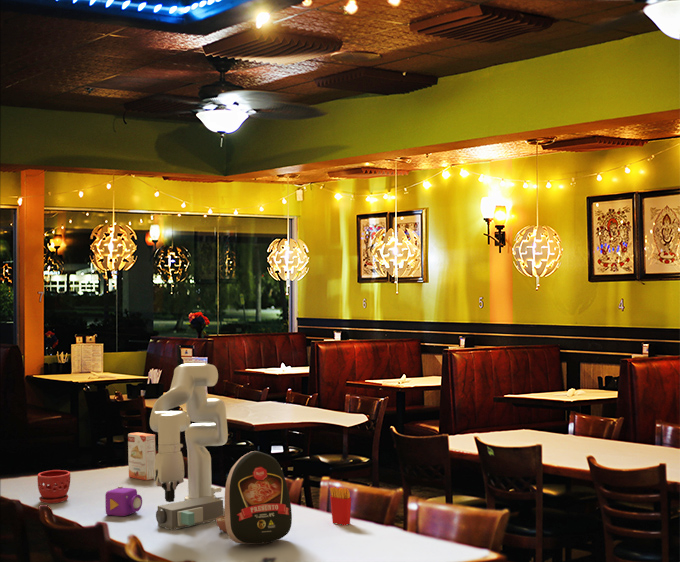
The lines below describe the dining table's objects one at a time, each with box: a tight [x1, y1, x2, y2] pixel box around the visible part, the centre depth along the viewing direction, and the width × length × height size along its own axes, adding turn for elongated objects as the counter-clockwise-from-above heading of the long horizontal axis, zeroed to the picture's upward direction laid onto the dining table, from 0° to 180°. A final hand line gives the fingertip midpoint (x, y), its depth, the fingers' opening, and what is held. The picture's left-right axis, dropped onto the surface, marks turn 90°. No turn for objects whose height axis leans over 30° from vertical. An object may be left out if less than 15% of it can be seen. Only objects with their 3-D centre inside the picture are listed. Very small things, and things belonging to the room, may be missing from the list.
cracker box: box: [127, 431, 156, 481], centre depth 405 cm, size 14×6×21 cm, turn 49°
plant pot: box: [37, 469, 71, 504], centre depth 358 cm, size 13×13×12 cm
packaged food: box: [224, 450, 293, 545], centre depth 288 cm, size 22×20×30 cm
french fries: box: [329, 486, 352, 526], centre depth 311 cm, size 9×4×13 cm, turn 47°
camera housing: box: [155, 496, 224, 531], centre depth 317 cm, size 24×11×7 cm, turn 132°
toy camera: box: [104, 485, 143, 517], centre depth 333 cm, size 11×14×10 cm
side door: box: [177, 507, 203, 526], centre depth 309 cm, size 10×6×5 cm, turn 132°
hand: (169, 501), depth 301 cm, fingers closed
